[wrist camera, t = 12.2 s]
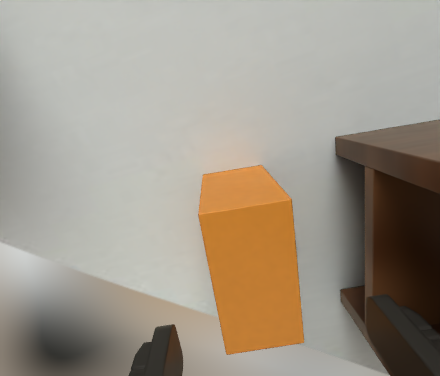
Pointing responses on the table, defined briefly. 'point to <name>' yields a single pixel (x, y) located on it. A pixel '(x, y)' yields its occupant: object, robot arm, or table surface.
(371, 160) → the wooden shelf
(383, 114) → the table surface
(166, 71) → the table surface
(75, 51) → the table surface
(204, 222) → the packet
